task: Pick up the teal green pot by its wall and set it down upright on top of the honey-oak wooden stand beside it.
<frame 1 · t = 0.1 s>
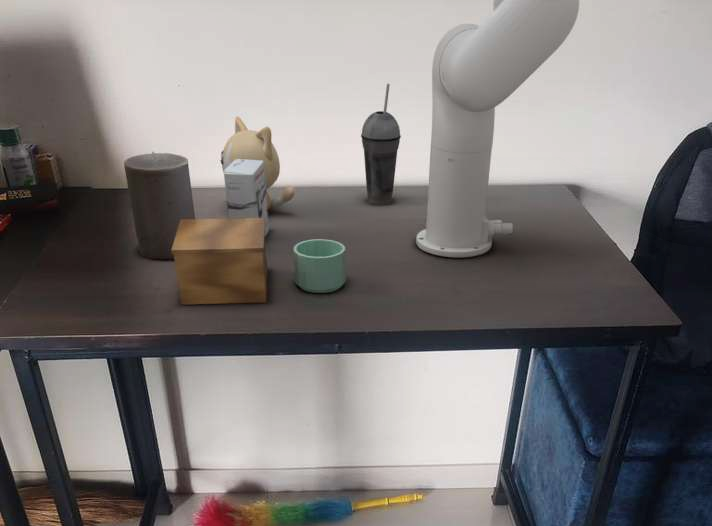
beverage cup: (379, 202, 147), on the table
wooden stand: (226, 286, 114), on the table
pillar candle: (170, 250, 125), on the table
ink box: (250, 240, 130), on the table
teal green pot: (320, 284, 115), on the table
kitten: (252, 211, 141), on the table
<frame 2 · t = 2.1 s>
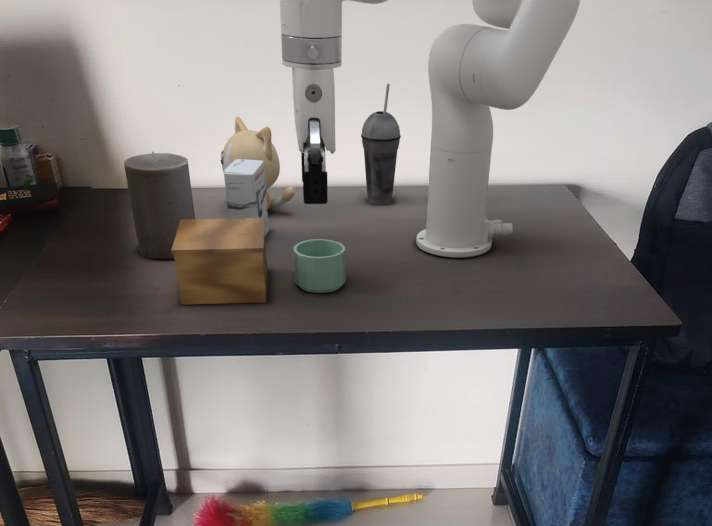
hand: (314, 192, 107), 13 cm above the table, tool pointing down, fingers open, 9 cm apart
nothing on the table moved.
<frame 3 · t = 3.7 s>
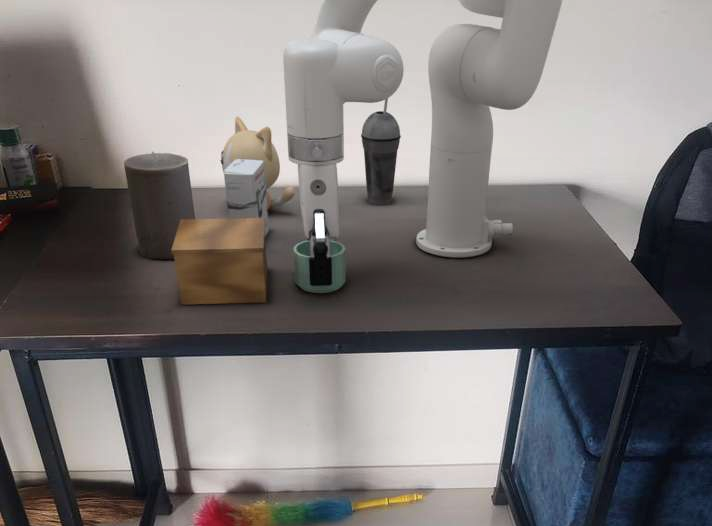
hand: (319, 273, 114), 2 cm above the table, tool pointing down, fingers closed on teal green pot, 7 cm apart
teal green pot: (320, 284, 115), on the table, touching gripper
everything else where it was.
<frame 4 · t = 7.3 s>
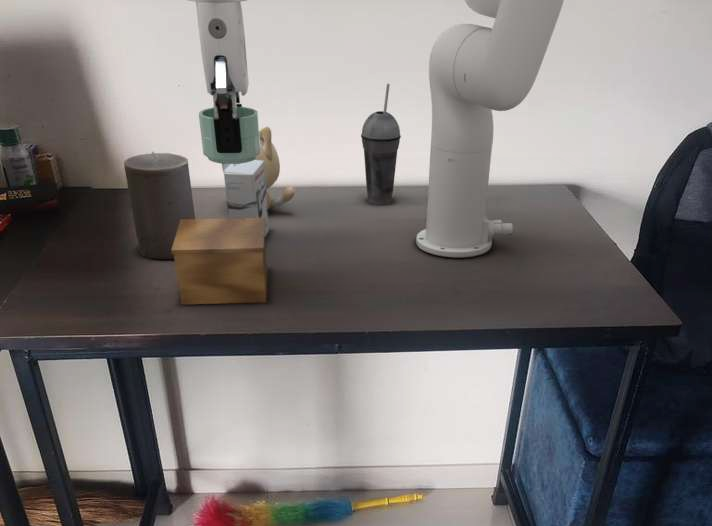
hand: (231, 143, 102), 20 cm above the table, tool pointing down, fingers closed on teal green pot, 7 cm apart
teal green pot: (232, 157, 103), point 18 cm above the table, touching gripper
everything else where it was.
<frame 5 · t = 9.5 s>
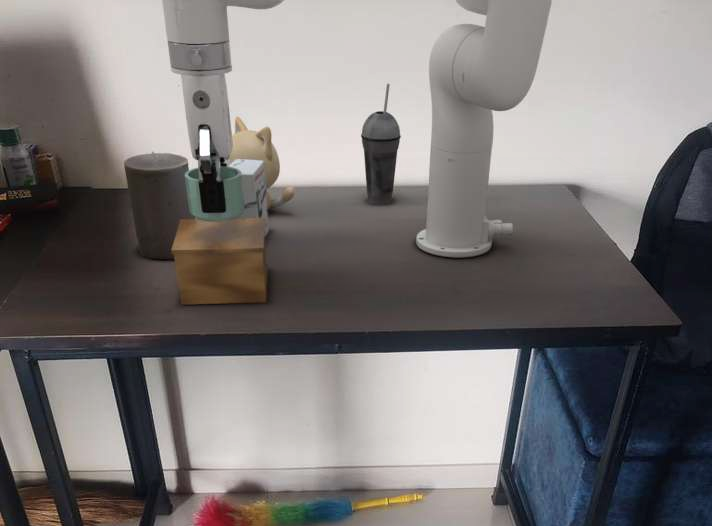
hand: (216, 201, 106), 12 cm above the table, tool pointing down, fingers closed on teal green pot, 7 cm apart
teal green pot: (217, 214, 107), point 11 cm above the table, touching gripper
everything else where it was.
when the fingers open (10 cm above the table, at t = 11.0 s): teal green pot stays where it is, resting on wooden stand.
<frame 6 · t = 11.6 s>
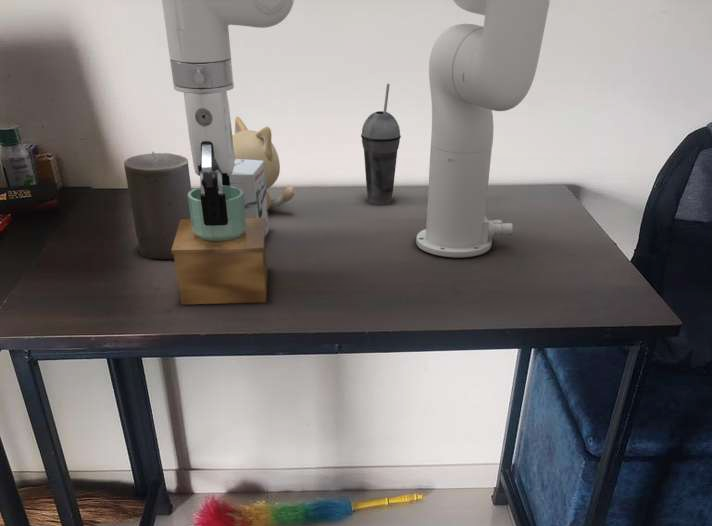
hand: (218, 212, 107), 11 cm above the table, tool pointing down, fingers open, 9 cm apart
teal green pot: (220, 233, 109), point 8 cm above the table, touching wooden stand
everything else where it was.
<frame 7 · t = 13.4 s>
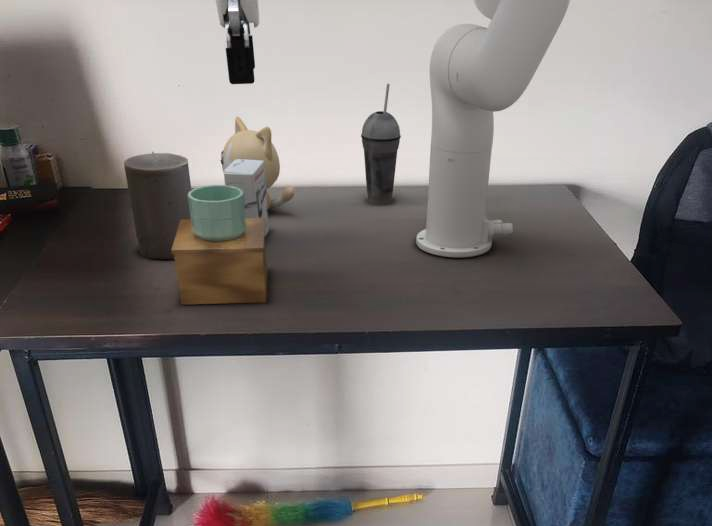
hand: (243, 76, 102), 27 cm above the table, tool pointing down, fingers open, 9 cm apart
nothing on the table moved.
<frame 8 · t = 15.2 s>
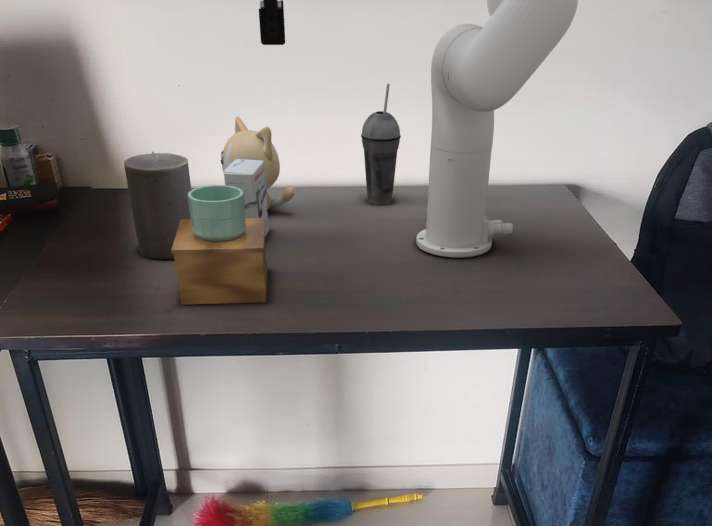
hand: (273, 39, 105), 30 cm above the table, tool pointing down, fingers open, 9 cm apart
nothing on the table moved.
at the end: teal green pot 0.0 cm off-centre on the wooden stand, point 8.0 cm above the wooden stand's base; teal green pot tilted 0°; the gripper is holding nothing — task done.
